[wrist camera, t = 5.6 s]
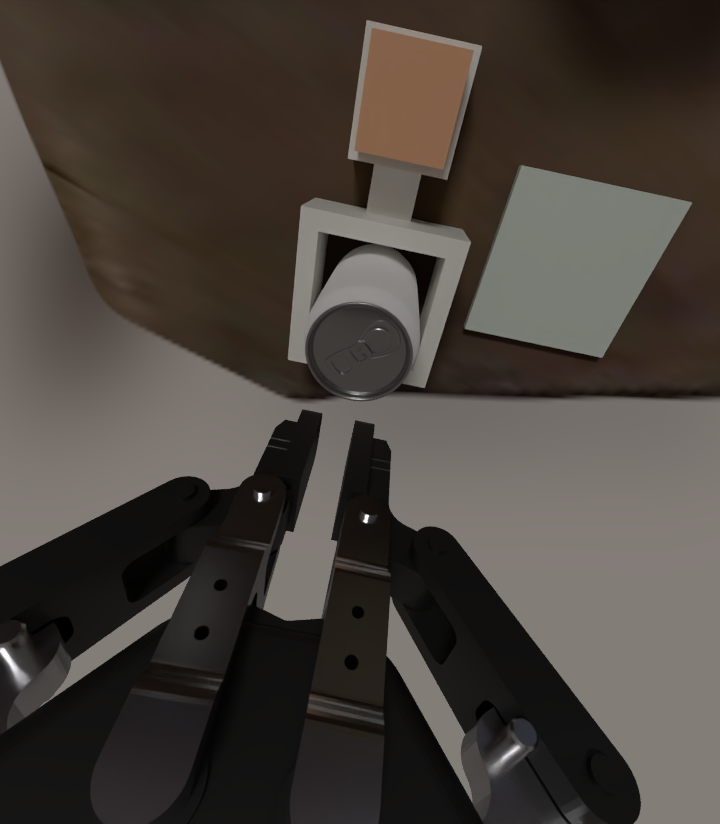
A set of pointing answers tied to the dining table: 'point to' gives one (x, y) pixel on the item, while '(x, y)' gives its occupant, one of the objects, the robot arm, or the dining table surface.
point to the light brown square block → (411, 98)
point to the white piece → (386, 227)
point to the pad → (570, 260)
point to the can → (365, 325)
